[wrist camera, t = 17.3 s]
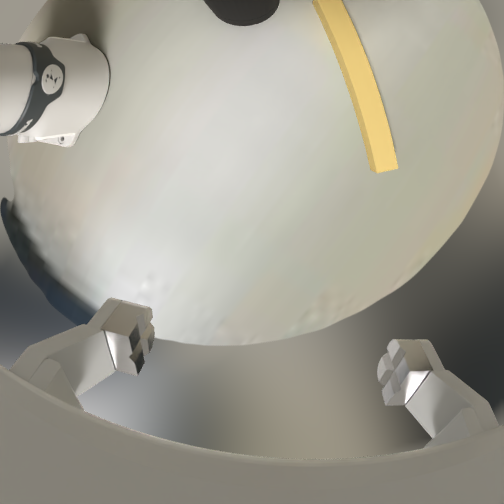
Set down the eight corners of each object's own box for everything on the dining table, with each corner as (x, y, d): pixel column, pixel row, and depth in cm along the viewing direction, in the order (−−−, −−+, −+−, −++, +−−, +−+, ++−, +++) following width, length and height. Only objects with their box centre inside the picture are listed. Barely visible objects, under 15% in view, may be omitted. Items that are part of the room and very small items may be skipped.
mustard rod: (369, 169, 34) (377, 173, 31) (312, 4, 25) (314, -5, 22) (389, 164, 33) (398, 168, 30) (333, 1, 24) (337, -8, 21)
